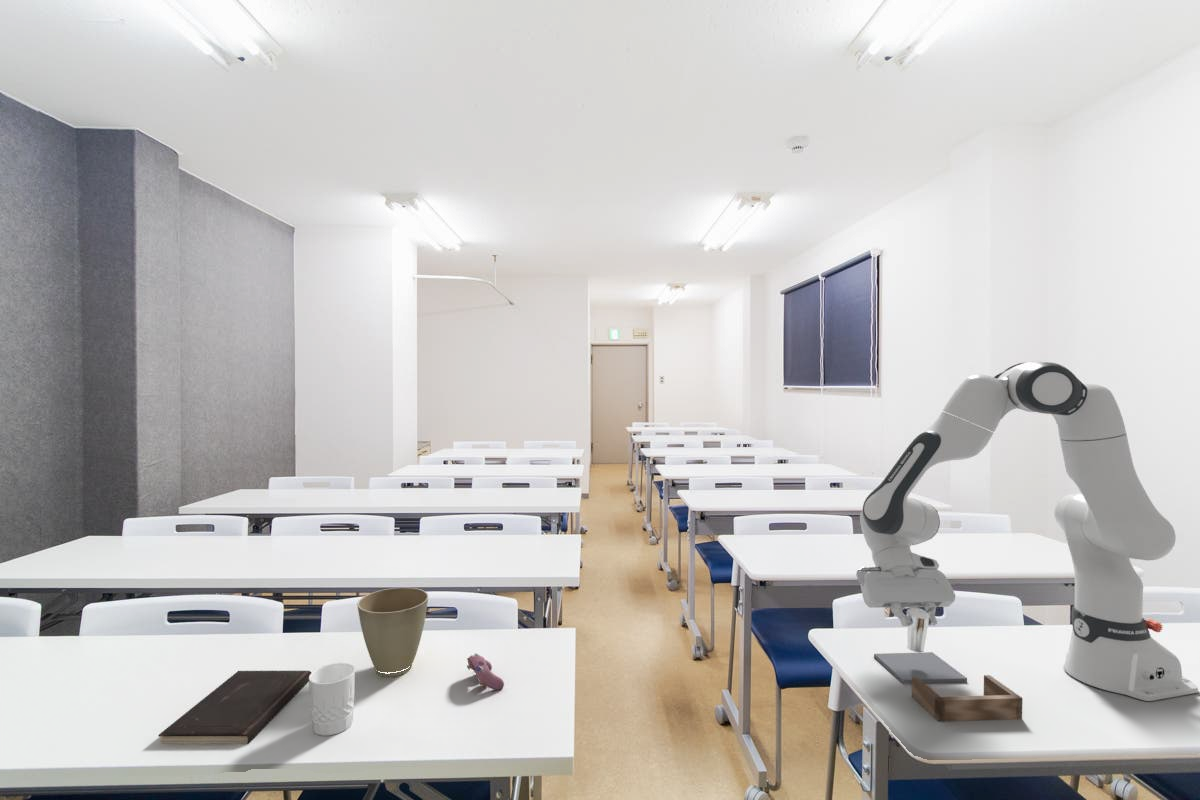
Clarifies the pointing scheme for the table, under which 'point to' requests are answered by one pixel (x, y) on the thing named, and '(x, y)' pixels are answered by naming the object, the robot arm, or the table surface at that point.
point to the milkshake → (917, 628)
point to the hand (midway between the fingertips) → (920, 624)
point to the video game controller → (484, 672)
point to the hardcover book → (237, 708)
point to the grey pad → (919, 667)
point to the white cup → (332, 698)
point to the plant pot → (393, 627)
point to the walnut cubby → (970, 702)
